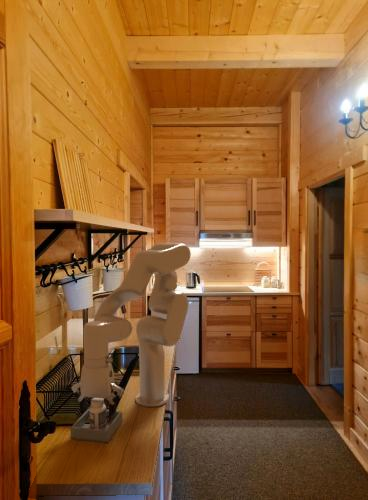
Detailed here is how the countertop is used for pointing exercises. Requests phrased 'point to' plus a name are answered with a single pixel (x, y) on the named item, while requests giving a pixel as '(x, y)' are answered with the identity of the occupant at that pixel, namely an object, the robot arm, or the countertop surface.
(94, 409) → the pill bottle
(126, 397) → the countertop surface
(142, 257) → the robot arm
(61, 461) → the countertop surface
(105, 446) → the countertop surface
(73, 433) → the bin
